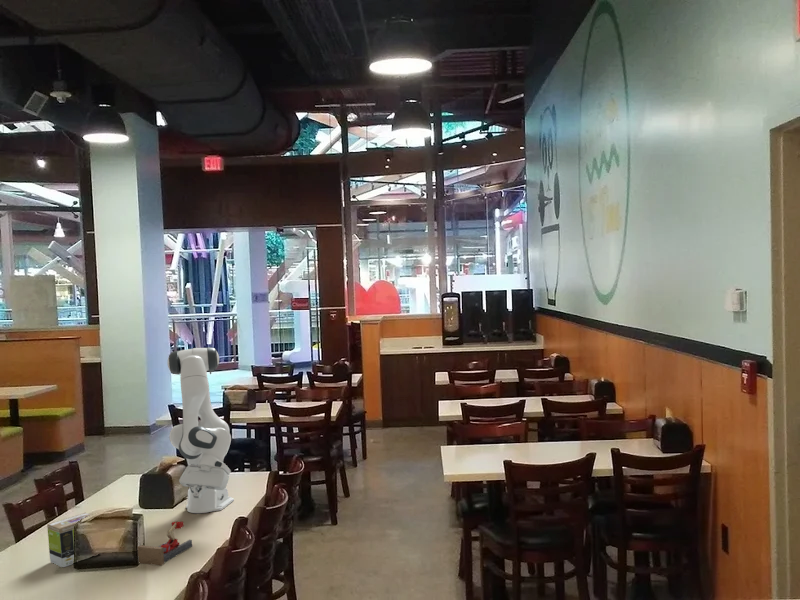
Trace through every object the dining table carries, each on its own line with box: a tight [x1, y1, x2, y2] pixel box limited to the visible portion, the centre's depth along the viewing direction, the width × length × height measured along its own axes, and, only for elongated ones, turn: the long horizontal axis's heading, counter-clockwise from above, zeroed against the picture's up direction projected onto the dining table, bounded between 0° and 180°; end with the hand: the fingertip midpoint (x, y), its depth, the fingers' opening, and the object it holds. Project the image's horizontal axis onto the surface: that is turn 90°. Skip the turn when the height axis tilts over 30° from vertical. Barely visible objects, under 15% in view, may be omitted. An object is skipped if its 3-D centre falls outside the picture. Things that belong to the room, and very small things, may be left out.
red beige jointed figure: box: [160, 521, 185, 554], centre depth 269 cm, size 3×14×10 cm, turn 171°
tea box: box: [46, 512, 92, 568], centre depth 267 cm, size 15×10×15 cm, turn 141°
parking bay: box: [137, 537, 193, 567], centre depth 266 cm, size 19×10×6 cm, turn 159°
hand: (196, 497), depth 284 cm, fingers closed
